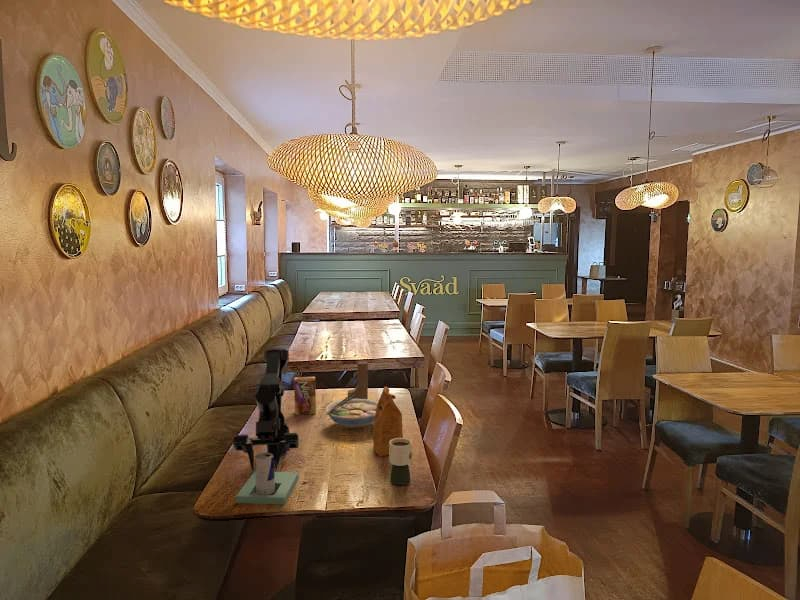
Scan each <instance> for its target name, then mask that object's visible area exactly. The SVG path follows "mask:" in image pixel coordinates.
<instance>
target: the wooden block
mask: <svg viewBox="0 0 800 600" xmlns="http://www.w3.org/2000/svg"><path fill="white" fill-rule="evenodd" d="M356 364H357V369H356V370H357V371H356V373H357V383H356V386H355V388H354V389H349V390H347V396H348V395H350V394H351V396H353V395H355V397H353V398H352V399H367V400H369V398H368V397H369V396H368V395H369V388H368V387H369V383H368V381H369V374H368V373H369V371H368V370H369V369H368V368H369V365H368V361H357V363H356ZM351 396H350V397H351ZM350 397H349V398H350ZM349 398H348V399H349Z"/></svg>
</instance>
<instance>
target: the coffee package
mask: <svg viewBox="0 0 800 600" xmlns="http://www.w3.org/2000/svg"><path fill="white" fill-rule="evenodd" d="M395 399H396V395H394V394H392V393H390V388H389V387H388V386H387V385H386V386H384V387H383V389H382V392H381V394H380V397H379V399H378V404H377V408H376V414H375V418H374V422H373V433H372V434H373V435H372V443H373V449H374V452H375V453H376V454H377V455H378V456H379V457H385V456H389V441H390V440H392V439H395V438H404V433H403V414H402V411H400V409H399V407H398V406H397V404H396V403H395V401H394V400H395Z"/></svg>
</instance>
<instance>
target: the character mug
mask: <svg viewBox="0 0 800 600" xmlns="http://www.w3.org/2000/svg"><path fill="white" fill-rule="evenodd" d="M388 461H389V463H390V464H391V470H390V477H389V478H390V483H392V484H394V485H408V484H410V482H412V481H411V472H410V466H409V464H411V463H412V461H413V441H412V440H411V439H408V438H405V437H403V438H395V439H392V440H390V441H389V455H388Z"/></svg>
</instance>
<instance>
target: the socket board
mask: <svg viewBox="0 0 800 600" xmlns="http://www.w3.org/2000/svg"><path fill="white" fill-rule="evenodd" d="M298 480H299V472H292V471H289V472H288V471H275V490H276V491H275V495H256V494H255V493H256V470H254V471H253V473H252V474H251V475H250V477H248V479H247V481H246V482H245V484H244V485H243V486H242V487H241V489H240V490H239V491H238V492H237V494H236V496H235V502H236V504H254V505H256V504H258V505H259V504H260V505H284V504H285V505H286V504H287V502H288V499H289V497H290V496H289V495H291V494H292V491H293V490H294V488H295V486H296V484H297V482H298Z"/></svg>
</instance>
